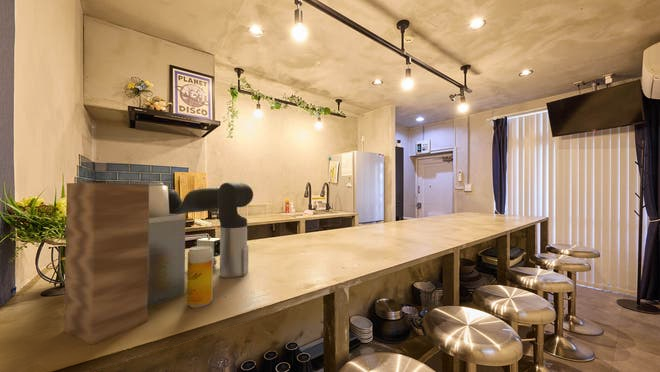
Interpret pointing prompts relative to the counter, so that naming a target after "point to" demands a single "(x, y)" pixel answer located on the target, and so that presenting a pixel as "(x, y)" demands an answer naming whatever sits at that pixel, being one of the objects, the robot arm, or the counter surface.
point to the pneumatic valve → (210, 242)
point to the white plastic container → (158, 200)
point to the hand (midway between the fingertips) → (140, 203)
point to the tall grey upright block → (166, 258)
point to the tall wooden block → (106, 259)
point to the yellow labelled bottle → (200, 276)
